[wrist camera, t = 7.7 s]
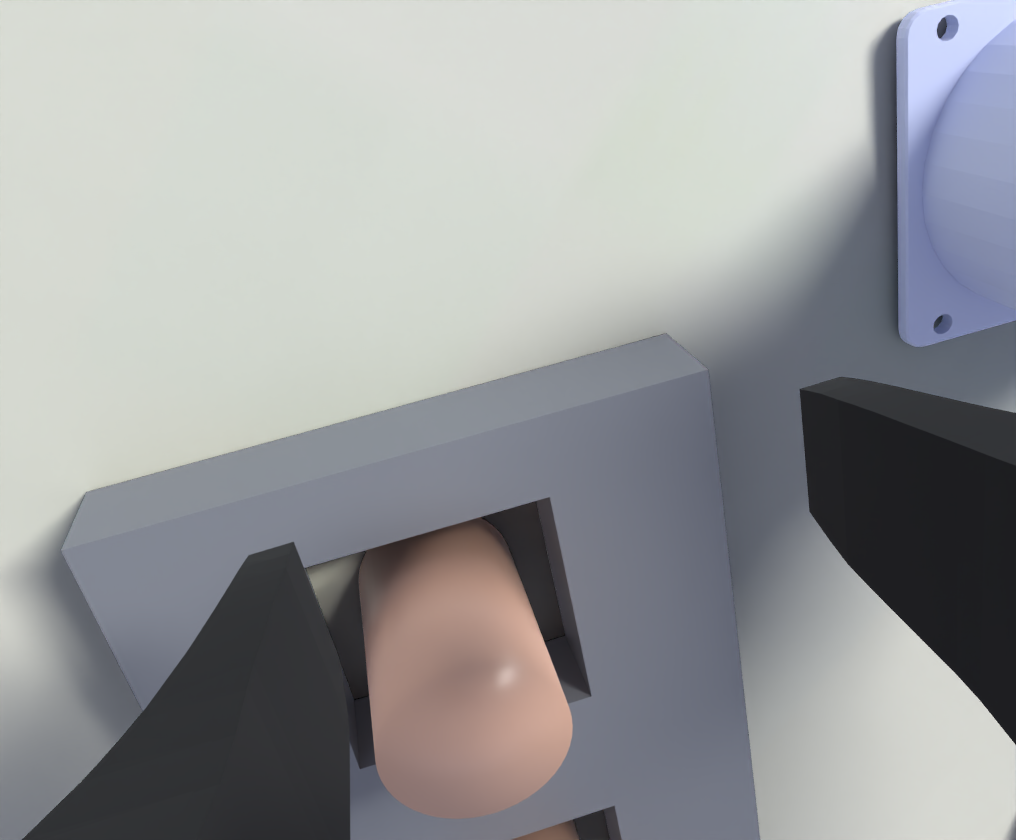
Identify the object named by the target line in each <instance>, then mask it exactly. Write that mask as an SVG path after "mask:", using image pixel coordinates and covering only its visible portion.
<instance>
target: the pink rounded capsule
mask: <svg viewBox="0 0 1016 840" xmlns="http://www.w3.org/2000/svg"><path fill="white" fill-rule="evenodd" d="M359 592H360V603H361V614H362V624H363V635H364V646H365V656H366V667H367V678H368V688H369V699H370V710H371V720H372V731H373V742H374V752H375V763H376V767H377V771H378V774H379V777H380V779H381V781H382V783H383V784H384V786H385V787H386V789H387V790H388V791H389V792H390V794H391V795H392V796H393V797H394V798H396V799H397V800H398V801H399V802H401V803H402V804H403V805H405V806H407V807H409V808H410V809H412V810H415V811H417V812H420V813H422V814H426V815H430V816H433V817H440V818H449V819H463V818H474V817H480V816H485V815H489V814H493V813H496V812H499V811H502V810H505V809H507V808H509V807H511V806H514V805H516V804H518V803H520V802H521V801H523V800H525V799H527V798H528V797H530V796H531V795H532V794H534V793H535V792H537V791H538V790H539V789H540V788H541V787H542V786H544V785H545V784H546V783H547V782H548V781H549V780H550V779H551V777H552V776H553V775H554V774H555V773H556V771H557V770H558V769H559V767H560V766H561V764H562V762H563V761H564V759H565V757H566V755H567V752H568V750H569V747H570V743H571V739H572V730H573V724H572V716H571V712H570V709H569V706H568V703H567V700H566V698H565V695H564V692H563V690H562V687H561V684H560V682H559V679H558V677H557V674H556V671H555V669H554V666H553V663H552V661H551V658H550V655H549V653H548V650H547V648H546V645H545V642H544V640H543V637H542V634H541V632H540V629H539V626H538V624H537V621H536V618H535V616H534V613H533V611H532V608H531V605H530V603H529V600H528V597H527V595H526V592H525V589H524V587H523V584H522V581H521V579H520V576H519V574H518V571H517V568H516V566H515V563H514V560H513V558H512V555H511V552H510V550H509V547H508V545H507V543H506V541H505V539H504V538H503V536H502V535H501V534H500V532H499V531H498V530H497V529H496V528H495V527H494V526H493V525H491V524H490V523H489V522H488V521H486V520H484V519H483V518H481V517H479V518H475V519H472V520H468V521H465V522H462V523H458V524H455V525H451V526H448V527H444V528H441V529H437V530H434V531H430V532H427V533H424V534H420V535H417V536H413V537H410V538H406V539H403V540H399V541H396V542H392V543H389V544H386V545H382V546H379V547H375V548H372V549H368V550H367V551H366V553H365V555H364V558H363V560H362V563H361V567H360V571H359Z"/></svg>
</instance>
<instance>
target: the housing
mask: <svg viewBox="0 0 1016 840" xmlns="http://www.w3.org/2000/svg"><path fill="white" fill-rule="evenodd" d="M534 501H536V503H537V508H538V513H539V517H540V522H541V526H542V531H543V535H544V540H545V545H546V549H547V554H548V558H549V563H550V567H551V572H552V577H553V581H554V586H555V590H556V595H557V599H558V604H559V609H560V613H561V618H562V622H563V627H564V632H565V636H563V637H559V638H556V639H553V640H550V641H546V642H545V645H546V648H547V650H548V653H549V655H550V658H551V661H552V663H553V666H554V669H555V671H556V674H557V677H558V679H559V682H560V684H561V687H562V690H563V692H564V695H565V698H566V700H567V703H568V706H569V709H570V712H571V716H572V724H573V730H572V739H571V743H570V747H569V750H568V752H567V755H566V757H565V759H564V761H563V762H562V764H561V766H560V767H559V769H558V770H557V771H556V773H555V774H554V775H553V776H552V777H551V779H550V780H549V781H548V782H547V783H546V784H545V785H544V786H542V787H541V788H540V789H539V790H538V791H537V792H535V793H534V794H532V795H531V796H530V797H528V798H527V799H525V800H523V801H521V802H520V803H518V804H516V805H514V806H511V807H509V808H507V809H505V810H502V811H499V812H496V813H493V814H489V815H485V816H480V817H474V818H463V819H449V818H440V817H433V816H430V815H426V814H422V813H420V812H417V811H415V810H412V809H410V808H409V807H407V806H405V805H403V804H402V803H401V802H399V801H398V800H397V799H396V798H394V797H393V796H392V795H391V794H390V792H389V791H388V790H387V789H386V787H385V786H384V784H383V783H382V781H381V779H380V777H379V774H378V771H377V767H376V763H375V752H374V742H373V731H372V720H371V710H370V699H369V696H367V697H364V698H361V699H357V700H354V699H353V696H352V693H351V690H350V688H349V685H348V682H347V680H346V677H345V674H344V671H343V669H342V666H341V670H342V676H343V683H344V690H345V697H346V704H347V712H348V719H349V736H350V840H512V839H515V838H518V837H521V836H524V835H527V834H530V833H533V832H536V831H539V830H542V829H545V828H548V827H551V826H554V825H557V824H560V823H563V822H566V821H569V820H572V819H575V818H578V817H582V816H585V815H588V814H591V813H594V812H597V811H600V810H604V815H605V819H606V824H607V828H608V833H609V837H610V840H760V834H759V825H758V816H757V807H756V798H755V788H754V779H753V770H752V761H751V752H750V743H749V734H748V725H747V716H746V707H745V698H744V689H743V679H742V670H741V661H740V652H739V643H738V634H737V625H736V616H735V607H734V598H733V589H732V580H731V570H730V561H729V552H728V543H727V534H726V525H725V516H724V507H723V498H722V489H721V480H720V471H719V461H718V452H717V443H716V434H715V425H714V416H713V407H712V398H711V389H710V380H709V371H708V369H707V368H706V367H705V366H704V365H703V364H701V363H700V362H699V361H698V360H697V359H696V358H695V357H693V356H692V355H691V354H690V353H689V352H688V351H686V350H685V349H684V348H683V347H682V346H681V345H679V344H678V343H677V342H676V341H675V340H674V339H672V338H671V337H670V336H669V335H668V334H667V333H666V334H662V335H659V336H655V337H651V338H648V339H644V340H641V341H637V342H633V343H630V344H626V345H622V346H619V347H615V348H611V349H608V350H604V351H600V352H597V353H593V354H589V355H586V356H582V357H578V358H575V359H571V360H567V361H564V362H560V363H556V364H553V365H549V366H545V367H542V368H538V369H535V370H531V371H527V372H524V373H520V374H516V375H513V376H509V377H505V378H502V379H498V380H494V381H491V382H487V383H483V384H480V385H476V386H472V387H469V388H465V389H461V390H458V391H454V392H450V393H447V394H443V395H439V396H436V397H432V398H429V399H425V400H421V401H418V402H414V403H410V404H407V405H403V406H399V407H396V408H392V409H388V410H385V411H381V412H377V413H374V414H370V415H366V416H363V417H359V418H355V419H352V420H348V421H344V422H341V423H337V424H333V425H330V426H326V427H323V428H319V429H315V430H312V431H308V432H304V433H301V434H297V435H293V436H290V437H286V438H282V439H279V440H275V441H271V442H268V443H264V444H260V445H257V446H253V447H249V448H246V449H242V450H238V451H235V452H231V453H228V454H224V455H220V456H217V457H213V458H209V459H206V460H202V461H198V462H195V463H191V464H187V465H184V466H180V467H176V468H173V469H169V470H165V471H162V472H158V473H154V474H151V475H147V476H143V477H140V478H136V479H132V480H129V481H125V482H122V483H118V484H114V485H111V486H107V487H103V488H100V489H96V490H92V491H89V492H86V494H85V496H84V498H83V501H82V503H81V505H80V508H79V510H78V512H77V514H76V517H75V519H74V521H73V523H72V526H71V528H70V530H69V533H68V535H67V537H66V539H65V542H64V544H63V546H62V548H61V552H62V554H63V556H64V558H65V560H66V562H67V564H68V566H69V568H70V570H71V572H72V574H73V576H74V578H75V580H76V582H77V584H78V586H79V588H80V590H81V591H82V593H83V595H84V597H85V599H86V601H87V603H88V605H89V607H90V609H91V611H92V613H93V615H94V617H95V619H96V621H97V623H98V625H99V627H100V629H101V631H102V633H103V635H104V637H105V639H106V641H107V643H108V645H109V646H110V648H111V650H112V652H113V654H114V656H115V658H116V660H117V662H118V664H119V666H120V668H121V670H122V672H123V674H124V676H125V678H126V680H127V682H128V684H129V686H130V688H131V690H132V692H133V694H134V696H135V698H136V700H137V701H138V703H139V705H140V707H141V709H142V711H144V709H145V708H146V707H147V706H148V704H149V703H150V701H151V700H152V699H153V697H154V696H155V695H156V693H157V692H158V691H159V689H160V688H161V686H162V685H163V684H164V682H165V681H166V680H167V678H168V677H169V675H170V674H171V673H172V671H173V670H174V669H175V667H176V666H177V665H178V663H179V662H180V660H181V659H182V658H183V656H184V655H185V654H186V652H187V651H188V649H189V648H190V646H191V645H192V643H193V642H194V640H195V639H196V637H197V635H198V634H199V632H200V631H201V629H202V628H203V626H204V625H205V623H206V622H207V620H208V618H209V617H210V615H211V614H212V612H213V611H214V609H215V608H216V606H217V604H218V603H219V601H220V600H221V598H222V596H223V595H224V593H225V591H226V590H227V588H228V587H229V585H230V583H231V582H232V580H233V578H234V577H235V575H236V574H237V572H238V570H239V569H240V567H241V566H242V564H243V563H244V561H245V560H246V558H247V557H248V555H251V554H254V553H258V552H261V551H264V550H267V549H271V548H274V547H277V546H281V545H284V544H287V543H291V542H294V544H295V546H296V549H297V551H298V554H299V556H300V559H301V562H302V564H303V567H304V569H305V572H306V574H307V577H308V579H309V576H308V573H307V570H306V567H310V566H313V565H317V564H320V563H323V562H327V561H330V560H334V559H337V558H341V557H344V556H348V555H351V554H355V553H358V552H361V551H365V550H368V549H372V548H375V547H379V546H382V545H386V544H389V543H392V542H396V541H399V540H403V539H406V538H410V537H413V536H417V535H420V534H424V533H427V532H430V531H434V530H437V529H441V528H444V527H448V526H451V525H455V524H458V523H462V522H465V521H468V520H472V519H475V518H479V517H482V516H486V515H489V514H493V513H496V512H500V511H503V510H506V509H510V508H513V507H517V506H520V505H524V504H527V503H531V502H534ZM309 582H310V584H311V581H310V579H309ZM311 587H312V584H311ZM312 590H313V587H312ZM313 592H314V590H313ZM314 595H315V592H314ZM315 597H316V595H315ZM316 600H317V598H316ZM317 602H318V600H317ZM318 605H319V603H318ZM319 607H320V606H319ZM320 610H321V609H320ZM321 612H322V611H321ZM322 615H323V614H322ZM323 618H324V617H323ZM325 623H326V622H325Z"/></svg>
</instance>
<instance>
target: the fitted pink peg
mask: <svg viewBox="0 0 1016 840" xmlns="http://www.w3.org/2000/svg"><path fill="white" fill-rule="evenodd" d="M512 840H580V839H579V836H578V833H577V830H576V827H575V824H574V821H573V819H572V820H569V821H566V822H563V823H560V824H557V825H554V826H551V827H548V828H545V829H542V830H539V831H536V832H533V833H530V834H527V835H524V836H521V837H518V838H515V839H512Z"/></svg>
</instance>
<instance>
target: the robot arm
mask: <svg viewBox="0 0 1016 840" xmlns="http://www.w3.org/2000/svg"><path fill="white" fill-rule="evenodd" d="M943 17H944V18H945V19H946V22H947V28H946V32H945V34H944V35H943V36H942V38H940V39H939V38H938V35H937V27H938V23H939V22H940V21H941V19H942V18H943ZM896 48H897V184H898V319H899V334H900V337H901V338H902V340H903V341H904V342H906V343H908V344H910V345H912V346H915V347H924V346H928V345H931V344H935V343H938V342H942V341H945V340H949V339H952V338H956V337H960V336H963V335H967V334H970V333H974V332H977V331H981V330H984V329H988V328H991V327H995V326H998V325H1002V324H1005V323H1009V322H1012V321H1016V0H951V1H947V2H943V3H938V4H934V5H930V6H926V7H922V8H918V9H915V10H913V11H911V12H909V13H908V14H907V15H906V16H905V17H904V18H903V19H902V21H901V23H900V25H899V27H898V31H897V38H896ZM941 315H942V316H943V317H942V321H941V323H940V324H939V325H938V327H936V328H933V326H934V322H935V320H936V319H937V318H938V317H939V316H941ZM800 398H801V410H802V423H803V435H804V447H805V460H806V472H807V484H808V497H809V509H810V513H811V514H812V516H813V517H814V518H815V520H816V521H817V523H818V524H819V526H820V527H821V528H822V530H823V531H824V533H825V534H826V535H827V537H828V538H829V540H830V541H831V542H832V544H833V545H834V546H835V548H836V549H837V550H838V552H839V553H840V554H841V556H842V557H843V558H844V560H845V561H846V562H847V564H848V565H849V566H850V567H851V568H852V569H853V570H854V571H855V572H856V573H857V574H858V575H859V576H860V577H861V578H862V579H863V580H864V581H865V583H866V584H867V585H868V586H869V587H870V588H871V589H872V590H873V591H874V592H875V593H876V594H877V595H878V596H879V597H880V598H881V599H882V600H883V601H884V602H885V603H886V604H887V605H888V606H889V607H890V608H891V609H892V610H893V611H894V612H895V613H896V614H897V615H898V616H899V617H900V618H901V619H902V620H903V621H904V622H905V623H906V624H907V625H908V626H909V627H910V628H911V629H912V630H913V631H914V632H915V633H916V634H917V635H918V636H919V637H920V638H921V639H922V640H923V641H924V642H925V643H926V644H927V645H928V646H929V647H930V648H931V649H932V650H933V651H934V652H935V653H936V654H937V655H938V656H939V657H940V658H941V659H942V660H943V661H944V662H945V663H946V664H947V665H948V666H949V667H950V668H951V669H952V670H953V671H954V672H955V673H956V674H957V675H958V677H959V678H960V679H961V680H962V681H963V682H964V683H965V684H966V685H967V686H968V688H969V689H970V690H971V691H972V692H973V693H974V694H975V695H976V696H977V697H978V699H979V700H980V701H981V702H982V703H983V704H984V706H985V707H986V708H987V709H988V711H989V712H990V713H991V714H992V716H993V717H994V718H995V719H996V721H997V722H998V723H999V724H1000V726H1001V727H1002V728H1003V729H1004V731H1005V732H1006V733H1007V734H1008V736H1009V737H1010V738H1011V739H1012V741H1013V742H1014V743H1015V744H1016V413H1013V412H1008V411H1003V410H998V409H993V408H988V407H984V406H979V405H975V404H970V403H966V402H961V401H957V400H952V399H948V398H944V397H939V396H935V395H931V394H926V393H922V392H918V391H913V390H909V389H905V388H900V387H896V386H891V385H886V384H882V383H877V382H872V381H866V380H861V379H854V378H846V377H839V378H835V379H832V380H829V381H825V382H822V383H819V384H815V385H812V386H809V387H805V388H802V389H800ZM22 840H350V736H349V719H348V712H347V704H346V697H345V690H344V683H343V676H342V670H341V663H340V658H339V656H338V653H337V651H336V648H335V646H334V643H333V641H332V638H331V635H330V633H329V630H328V628H327V625H326V623H325V620H324V618H323V615H322V612H321V610H320V607H319V605H318V602H317V600H316V597H315V595H314V592H313V590H312V587H311V584H310V582H309V579H308V577H307V574H306V572H305V569H304V567H303V564H302V562H301V559H300V556H299V554H298V551H297V549H296V546H295V544H294V542H291V543H287V544H284V545H281V546H277V547H274V548H271V549H267V550H264V551H261V552H258V553H254V554H251V555H248V557H247V558H246V560H245V561H244V563H243V564H242V566H241V567H240V569H239V570H238V572H237V574H236V575H235V577H234V578H233V580H232V582H231V583H230V585H229V587H228V588H227V590H226V591H225V593H224V595H223V596H222V598H221V600H220V601H219V603H218V604H217V606H216V608H215V609H214V611H213V612H212V614H211V615H210V617H209V618H208V620H207V622H206V623H205V625H204V626H203V628H202V629H201V631H200V632H199V634H198V635H197V637H196V639H195V640H194V642H193V643H192V645H191V646H190V648H189V649H188V651H187V652H186V654H185V655H184V656H183V658H182V659H181V660H180V662H179V663H178V665H177V666H176V667H175V669H174V670H173V671H172V673H171V674H170V675H169V677H168V678H167V680H166V681H165V682H164V684H163V685H162V686H161V688H160V689H159V691H158V692H157V693H156V695H155V696H154V697H153V699H152V700H151V701H150V703H149V704H148V706H147V707H146V708H145V709H144V711H143V712H142V713H141V714H140V716H139V717H138V718H137V719H136V721H135V722H134V723H133V724H132V725H131V727H130V728H129V729H128V730H127V731H126V733H125V734H124V735H123V736H122V737H121V739H120V740H119V741H118V742H117V743H116V744H115V745H114V746H113V748H112V749H111V750H110V751H109V752H108V753H107V754H106V755H105V757H104V758H103V759H102V760H101V761H100V762H99V763H98V764H97V766H96V767H95V768H94V769H93V770H92V771H91V772H90V773H89V774H88V775H87V776H86V777H85V778H84V780H83V781H82V782H81V783H80V784H79V785H78V786H77V787H76V788H75V789H74V790H73V791H71V792H70V793H69V794H68V795H67V796H66V797H65V798H64V799H63V800H62V801H61V802H60V803H59V804H58V805H57V806H56V807H55V808H54V809H53V810H52V811H51V812H50V813H49V814H48V815H47V816H46V817H45V818H44V819H43V820H42V821H41V822H40V823H39V824H38V825H37V826H36V827H35V828H34V829H33V830H32V831H30V832H29V833H28V834H27V835H26V836H25V837H24V838H23V839H22Z"/></svg>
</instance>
